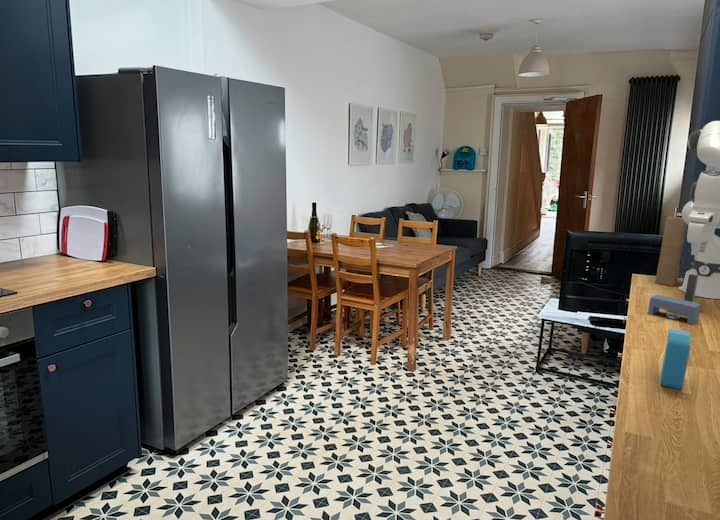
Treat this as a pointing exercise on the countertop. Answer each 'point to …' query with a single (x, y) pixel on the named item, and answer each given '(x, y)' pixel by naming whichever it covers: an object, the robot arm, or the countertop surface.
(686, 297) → the scraper
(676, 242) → the decorative block
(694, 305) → the blue-grey bridge block
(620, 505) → the countertop surface
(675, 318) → the steel token
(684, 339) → the data package
